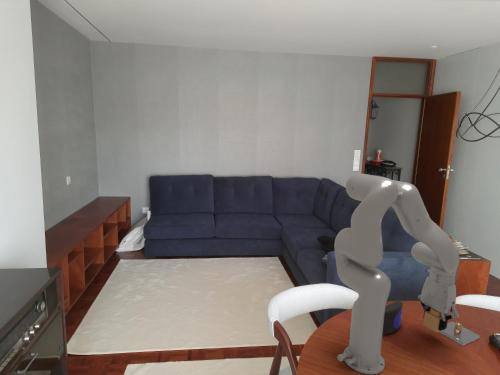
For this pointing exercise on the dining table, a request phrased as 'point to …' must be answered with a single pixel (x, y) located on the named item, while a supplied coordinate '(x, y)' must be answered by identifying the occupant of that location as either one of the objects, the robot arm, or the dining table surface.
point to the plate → (459, 333)
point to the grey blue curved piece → (392, 317)
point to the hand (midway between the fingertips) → (434, 324)
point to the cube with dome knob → (432, 319)
